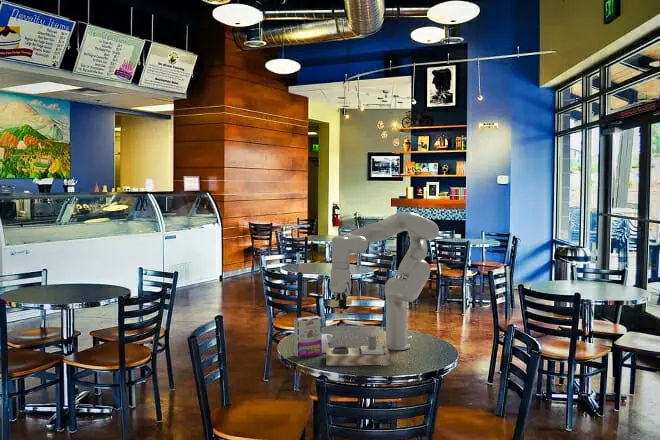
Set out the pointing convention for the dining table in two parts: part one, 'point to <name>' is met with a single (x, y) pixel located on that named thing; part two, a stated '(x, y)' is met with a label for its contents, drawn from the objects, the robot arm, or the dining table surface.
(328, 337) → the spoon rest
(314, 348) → the candy bar box
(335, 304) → the t key
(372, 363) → the beige flat block
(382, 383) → the dining table surface
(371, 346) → the cover
